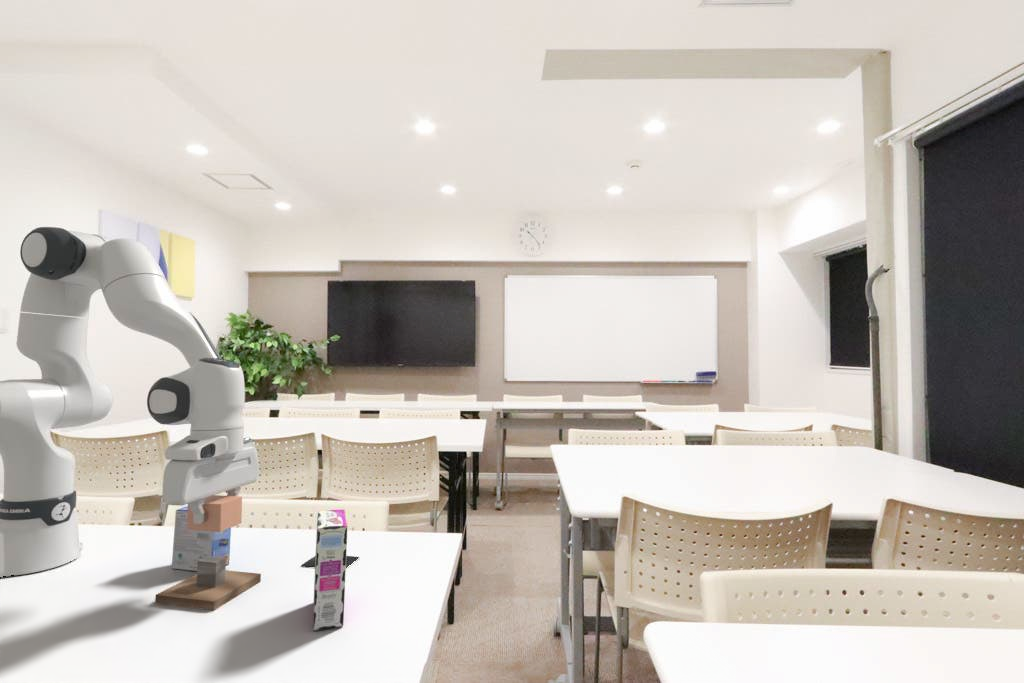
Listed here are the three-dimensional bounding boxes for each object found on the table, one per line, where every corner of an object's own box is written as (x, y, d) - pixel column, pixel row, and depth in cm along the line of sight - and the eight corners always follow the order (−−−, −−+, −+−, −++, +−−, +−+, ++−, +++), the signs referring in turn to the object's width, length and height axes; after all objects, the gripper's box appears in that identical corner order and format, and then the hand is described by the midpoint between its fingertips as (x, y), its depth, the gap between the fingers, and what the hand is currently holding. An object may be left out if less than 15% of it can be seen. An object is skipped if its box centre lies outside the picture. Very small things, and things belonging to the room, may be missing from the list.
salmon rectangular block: (220, 532, 92) (221, 504, 92) (187, 529, 93) (188, 502, 93) (241, 523, 97) (242, 496, 97) (209, 521, 98) (210, 495, 98)
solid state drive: (343, 572, 105) (343, 569, 105) (300, 568, 107) (300, 565, 107) (359, 560, 112) (359, 556, 112) (318, 556, 114) (318, 553, 114)
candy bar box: (345, 627, 82) (348, 525, 83) (312, 632, 81) (315, 528, 81) (342, 597, 93) (345, 507, 94) (313, 601, 91) (316, 510, 92)
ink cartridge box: (231, 563, 108) (234, 495, 109) (211, 574, 103) (214, 501, 103) (192, 559, 110) (195, 492, 111) (170, 569, 105) (173, 498, 105)
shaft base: (214, 610, 87) (215, 575, 88) (155, 603, 90) (156, 569, 90) (260, 581, 99) (261, 550, 100) (207, 576, 101) (208, 545, 102)
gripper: (241, 435, 107) (239, 501, 106) (156, 451, 86) (153, 533, 86) (267, 436, 105) (266, 503, 105) (188, 452, 85) (185, 535, 85)
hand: (214, 517), depth 95 cm, fingers closed on salmon rectangular block, 5 cm apart
